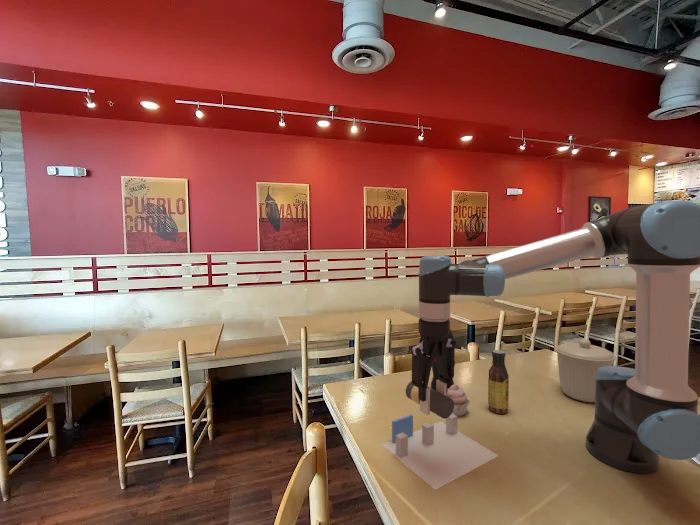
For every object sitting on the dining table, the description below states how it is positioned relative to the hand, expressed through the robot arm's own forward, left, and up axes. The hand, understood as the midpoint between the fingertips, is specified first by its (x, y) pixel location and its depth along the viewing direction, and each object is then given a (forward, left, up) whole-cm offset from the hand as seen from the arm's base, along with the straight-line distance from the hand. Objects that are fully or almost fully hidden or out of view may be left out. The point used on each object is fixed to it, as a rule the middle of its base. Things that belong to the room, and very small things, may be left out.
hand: (433, 409), depth 86 cm
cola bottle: (+26, -32, -15) cm, 44 cm away
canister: (-2, -74, -15) cm, 75 cm away
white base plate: (+2, -5, -14) cm, 15 cm away
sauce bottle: (+8, -39, -15) cm, 42 cm away
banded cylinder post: (+1, 0, 0) cm, 2 cm away
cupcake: (+14, -25, -15) cm, 32 cm away
